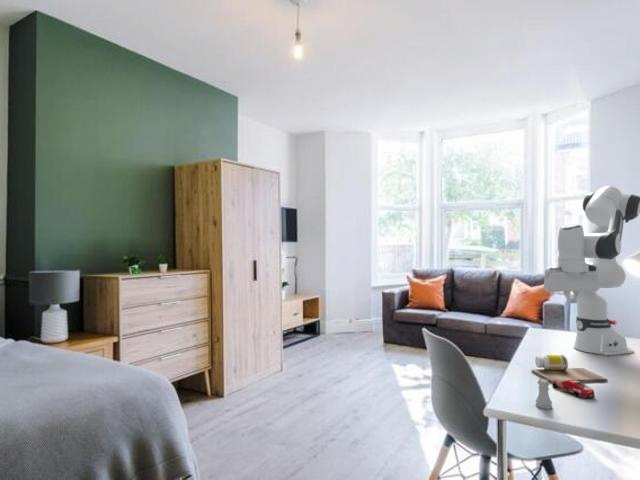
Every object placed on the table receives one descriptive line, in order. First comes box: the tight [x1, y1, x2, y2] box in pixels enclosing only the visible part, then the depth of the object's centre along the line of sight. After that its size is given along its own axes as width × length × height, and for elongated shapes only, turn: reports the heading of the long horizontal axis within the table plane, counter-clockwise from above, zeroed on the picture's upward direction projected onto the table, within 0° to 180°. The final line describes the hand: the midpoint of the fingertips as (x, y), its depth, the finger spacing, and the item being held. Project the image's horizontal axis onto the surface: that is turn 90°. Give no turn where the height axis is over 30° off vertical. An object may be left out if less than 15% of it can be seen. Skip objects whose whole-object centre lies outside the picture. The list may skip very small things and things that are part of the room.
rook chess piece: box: [535, 377, 553, 410], centre depth 121 cm, size 4×4×8 cm
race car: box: [551, 379, 595, 399], centre depth 132 cm, size 13×5×4 cm, turn 17°
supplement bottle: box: [534, 354, 569, 370], centre depth 151 cm, size 5×5×10 cm
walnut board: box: [531, 367, 608, 385], centre depth 146 cm, size 20×12×1 cm, turn 93°
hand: (571, 303), depth 155 cm, fingers closed
